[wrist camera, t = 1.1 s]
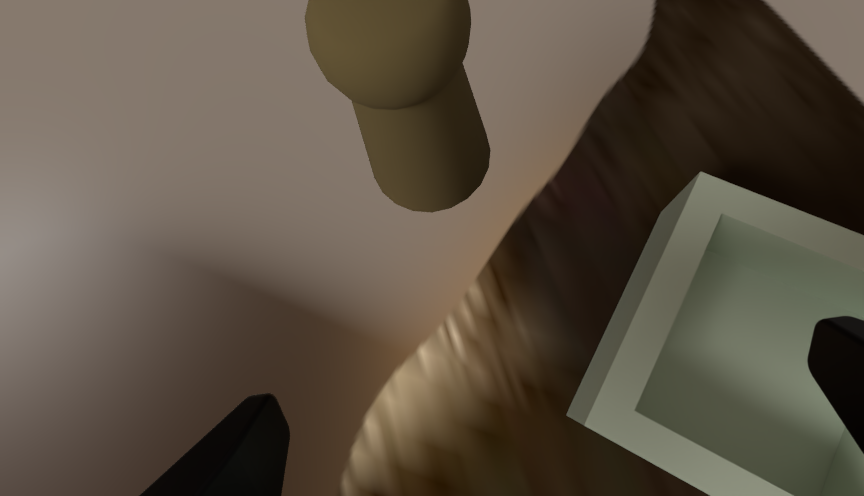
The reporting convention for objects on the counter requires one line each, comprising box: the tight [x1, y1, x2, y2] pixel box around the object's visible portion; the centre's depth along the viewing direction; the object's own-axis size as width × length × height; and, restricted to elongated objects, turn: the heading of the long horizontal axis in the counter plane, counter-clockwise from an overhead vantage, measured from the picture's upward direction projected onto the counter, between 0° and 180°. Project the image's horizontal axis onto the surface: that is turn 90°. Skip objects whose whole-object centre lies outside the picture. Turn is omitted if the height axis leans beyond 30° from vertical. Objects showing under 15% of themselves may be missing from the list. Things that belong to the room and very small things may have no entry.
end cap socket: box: [566, 172, 864, 496], centre depth 17 cm, size 10×10×4 cm
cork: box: [305, 0, 490, 212], centre depth 19 cm, size 6×6×11 cm
